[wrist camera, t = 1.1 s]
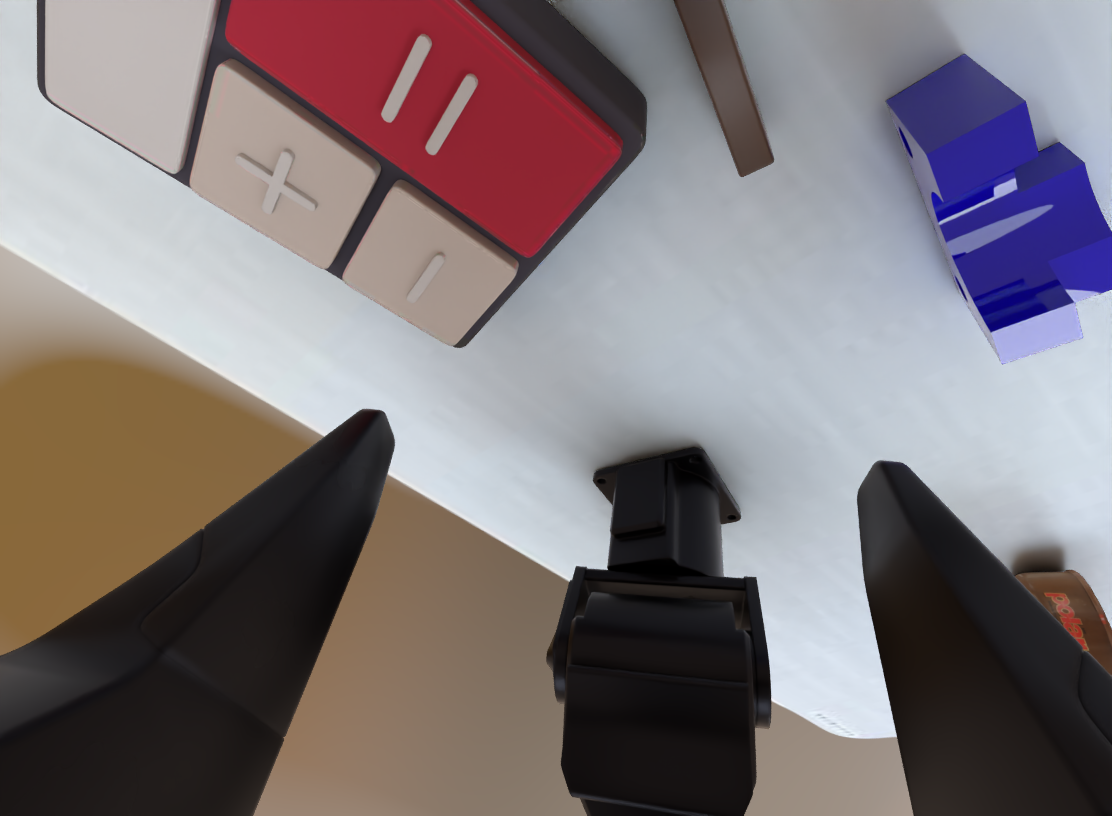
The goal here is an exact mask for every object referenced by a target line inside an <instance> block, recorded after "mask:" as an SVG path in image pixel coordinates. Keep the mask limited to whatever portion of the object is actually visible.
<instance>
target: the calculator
mask: <svg viewBox="0 0 1112 816" xmlns="http://www.w3.org/2000/svg"><path fill="white" fill-rule="evenodd" d="M37 80H38V87H39V90H40V92H41V93H42V95H43V96H44V97H45V98H46V99H47V100H48V101H49V102H50V103H51V104H53V105H54V106H56V107H57V108H59V109H60V110H62V111H64V112H65V113H67V114H69V115H70V116H72V117H74V118H75V119H77V120H79V121H80V122H82V123H84V124H85V125H87V126H89V127H90V128H92V129H94V130H95V131H97V132H98V133H100V134H102V135H103V136H105V137H107V138H108V139H110V140H112V141H113V142H115V143H117V144H118V145H120V146H122V147H123V148H125V149H127V150H128V151H130V152H132V153H133V154H135V155H137V156H138V157H140V158H141V159H143V160H145V161H146V162H148V163H150V164H151V165H153V166H155V167H156V168H158V169H160V170H161V171H163V172H165V173H166V174H168V175H170V176H171V177H173V178H175V179H176V180H178V181H179V182H181V183H183V184H184V185H186V186H188V187H189V188H191V189H192V190H193V191H194V192H195V193H197V194H198V195H199V196H201V197H202V198H204V199H206V200H207V201H209V202H211V203H212V204H214V205H215V206H217V207H219V208H220V209H222V210H224V211H225V212H227V213H229V214H230V215H232V216H234V217H235V218H237V219H239V220H240V221H242V222H244V223H245V224H247V225H249V226H250V227H252V228H254V229H255V230H257V231H259V232H260V233H262V234H264V235H265V236H267V237H268V238H270V239H272V240H273V241H275V242H277V243H278V244H280V245H282V246H283V247H285V248H287V249H288V250H290V251H292V252H293V253H295V254H297V255H298V256H300V257H302V258H303V259H305V260H307V261H308V262H310V263H312V264H313V265H315V266H317V267H319V268H321V269H325V270H327V271H328V272H330V273H332V274H333V275H335V276H336V277H338V278H340V279H341V280H343V281H344V282H345V283H346V284H347V285H348V286H350V287H351V288H353V289H355V290H356V291H358V292H360V293H361V294H363V295H365V296H366V297H368V298H370V299H371V300H373V301H375V302H376V303H378V304H380V305H381V306H383V307H384V308H386V309H388V310H389V311H391V312H393V313H394V314H396V315H398V316H399V317H401V318H403V319H404V320H406V321H408V322H409V323H411V324H413V325H414V326H416V327H418V328H419V329H421V330H423V331H424V332H426V333H428V334H429V335H431V336H432V337H434V338H436V339H437V340H439V341H441V342H442V343H444V344H447V345H449V346H453V347H456V348H462V347H464V346H466V345H467V344H468V343H469V342H470V341H471V340H472V338H473V337H474V336H475V335H476V334H477V333H478V332H479V331H480V330H481V329H482V327H483V326H484V325H485V324H486V323H487V322H488V321H489V320H490V319H491V317H492V316H493V315H494V314H495V313H496V312H497V311H498V310H499V309H500V307H501V306H502V305H503V304H504V303H505V302H506V301H507V300H508V299H509V298H510V296H511V295H512V294H513V293H514V292H515V291H516V290H517V289H518V288H519V286H520V285H521V284H522V283H523V282H524V281H525V280H526V279H527V278H528V276H529V275H530V274H531V273H532V272H533V271H534V270H535V269H536V268H537V267H538V265H539V264H540V263H541V262H542V261H543V260H544V259H545V258H546V257H547V255H548V254H549V253H550V252H551V251H552V250H553V249H554V248H555V247H556V245H557V244H558V243H559V242H560V241H561V240H562V239H563V238H564V237H565V235H566V234H567V233H568V232H569V231H570V230H571V229H572V228H573V227H574V226H575V224H576V223H577V222H578V221H579V220H580V219H581V218H582V217H583V216H584V214H585V213H586V212H587V211H588V210H589V209H590V208H591V207H592V206H593V204H594V203H595V202H596V201H597V200H598V199H599V198H600V197H601V196H602V195H603V193H604V192H605V191H606V190H607V189H608V188H609V187H610V186H611V185H612V183H613V182H614V181H615V180H616V179H617V178H618V177H619V176H620V175H621V173H622V172H623V171H624V170H625V169H626V168H627V167H628V166H629V165H630V164H631V162H632V161H633V160H634V159H635V158H636V157H637V156H638V154H639V153H640V152H641V151H642V149H643V148H644V145H645V141H646V122H647V102H646V99H645V97H644V95H643V94H642V93H641V92H640V90H639V89H638V88H637V87H636V86H635V85H633V84H632V83H631V82H630V81H629V80H628V79H627V78H626V77H625V76H624V75H623V74H622V73H621V72H620V71H619V70H618V69H617V68H616V67H615V66H614V65H613V64H612V63H611V62H610V61H609V60H607V59H606V58H605V57H604V56H603V55H602V54H601V53H600V52H599V51H598V50H597V49H596V48H595V47H594V46H593V45H592V44H591V43H590V42H589V41H588V40H587V39H586V38H585V37H584V36H583V35H582V34H580V33H579V32H578V31H577V30H576V29H575V28H574V27H573V26H572V25H571V24H570V23H569V22H568V21H567V20H566V19H565V18H564V17H563V16H562V15H561V14H560V13H559V12H558V11H557V10H556V9H554V8H553V7H552V6H551V5H550V4H549V3H548V2H547V1H546V0H37Z"/></svg>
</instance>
